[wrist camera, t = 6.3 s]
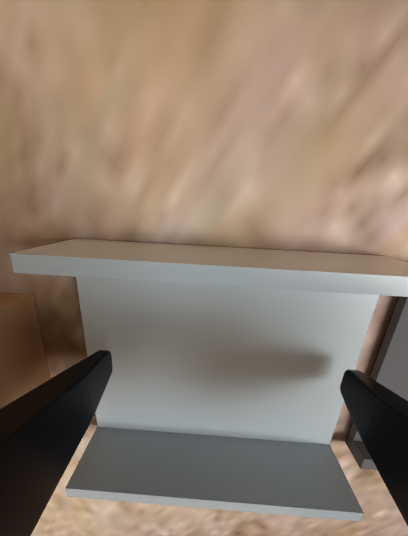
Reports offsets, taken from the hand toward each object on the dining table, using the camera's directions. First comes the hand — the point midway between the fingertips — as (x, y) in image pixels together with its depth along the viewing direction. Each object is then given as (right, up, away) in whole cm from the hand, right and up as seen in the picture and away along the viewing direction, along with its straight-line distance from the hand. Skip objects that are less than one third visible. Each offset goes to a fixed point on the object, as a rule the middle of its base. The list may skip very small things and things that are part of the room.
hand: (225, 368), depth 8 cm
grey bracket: (0, 0, +1) cm, 1 cm away
